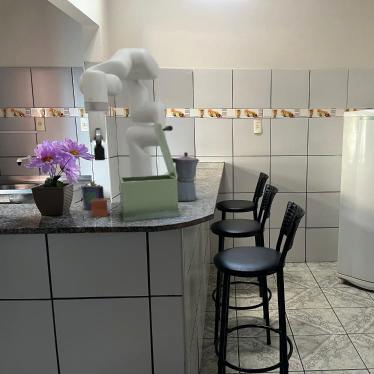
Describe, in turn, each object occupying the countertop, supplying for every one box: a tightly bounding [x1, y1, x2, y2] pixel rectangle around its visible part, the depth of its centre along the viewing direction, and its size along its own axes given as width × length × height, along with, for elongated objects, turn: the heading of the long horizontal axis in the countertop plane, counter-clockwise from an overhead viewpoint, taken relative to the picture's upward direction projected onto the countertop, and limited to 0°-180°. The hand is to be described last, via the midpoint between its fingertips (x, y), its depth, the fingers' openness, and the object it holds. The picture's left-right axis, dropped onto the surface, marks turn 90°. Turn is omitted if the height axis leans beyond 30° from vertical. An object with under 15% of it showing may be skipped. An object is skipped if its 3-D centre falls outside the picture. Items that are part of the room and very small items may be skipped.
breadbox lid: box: [152, 123, 178, 179], centre depth 126 cm, size 18×15×5 cm
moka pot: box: [168, 152, 200, 202], centre depth 151 cm, size 10×15×20 cm, turn 134°
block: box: [90, 197, 109, 219], centre depth 126 cm, size 5×5×6 cm
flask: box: [81, 180, 105, 211], centre depth 136 cm, size 9×3×11 cm, turn 72°
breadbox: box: [119, 174, 180, 223], centre depth 125 cm, size 18×15×13 cm
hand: (100, 159), depth 125 cm, fingers open, 9 cm apart
